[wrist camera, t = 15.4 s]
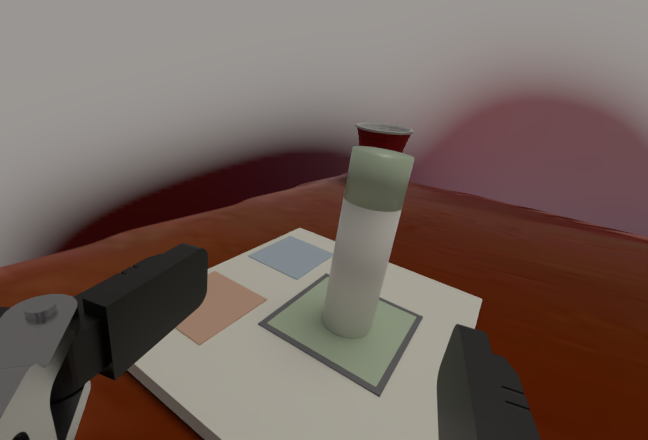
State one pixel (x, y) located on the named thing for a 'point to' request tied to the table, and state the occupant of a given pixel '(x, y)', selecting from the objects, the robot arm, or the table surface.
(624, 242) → the table surface
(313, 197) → the table surface
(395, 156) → the marker
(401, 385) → the picture board
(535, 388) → the table surface
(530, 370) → the table surface
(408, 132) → the plastic cup
